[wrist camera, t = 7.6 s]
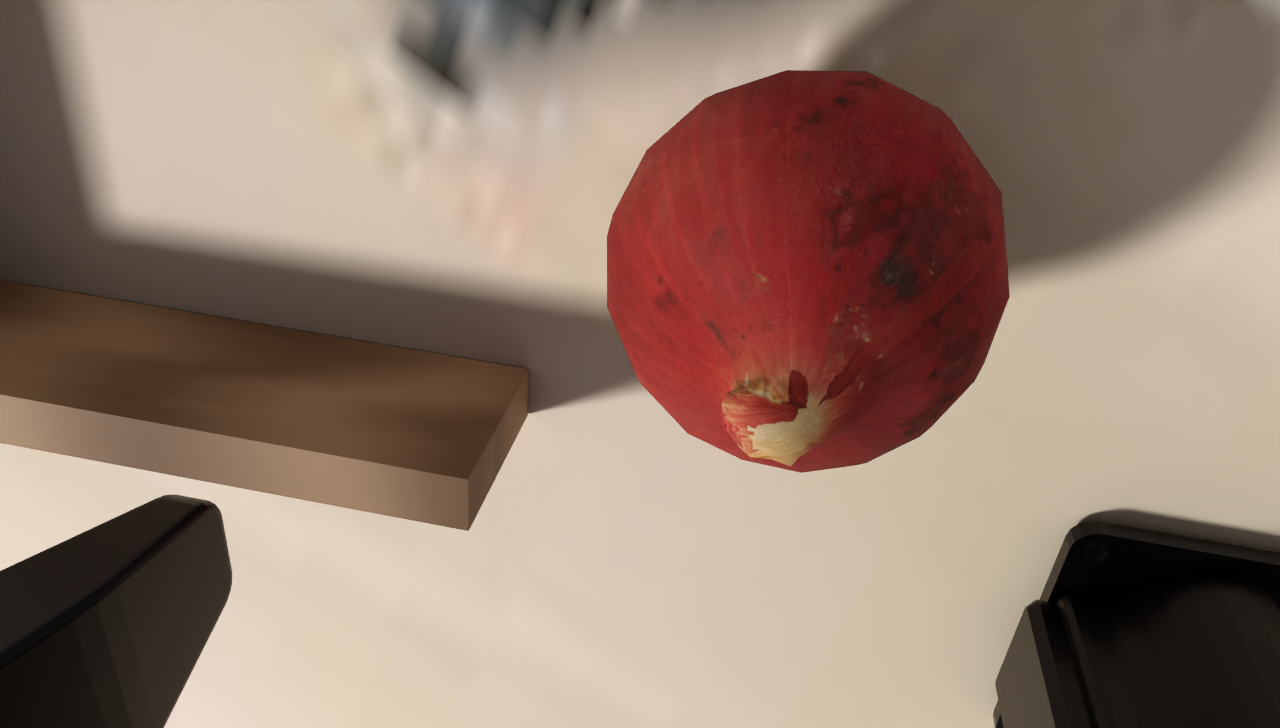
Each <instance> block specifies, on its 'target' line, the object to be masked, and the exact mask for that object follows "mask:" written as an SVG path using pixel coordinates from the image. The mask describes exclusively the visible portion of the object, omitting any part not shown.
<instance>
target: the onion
mask: <svg viewBox="0 0 1280 728" xmlns="http://www.w3.org/2000/svg"><path fill="white" fill-rule="evenodd" d="M1008 299H1009V282H1008V266H1007V255H1006V243H1005V231H1004V219H1003V208H1002V196H1001V191H1000V190H999V188H998V187H997V185H996V184H995V182H994V181H993V180H992V178H991V177H990V175H989V174H988V172H987V171H986V169H985V168H984V167H983V165H982V164H981V162H980V161H979V159H978V158H977V156H976V155H975V154H974V152H973V151H972V149H971V148H970V146H969V145H968V143H967V142H966V141H965V139H964V138H963V136H962V135H961V133H960V132H959V130H958V129H957V128H956V126H955V125H954V123H953V122H952V120H951V119H950V118H949V117H948V116H947V115H946V114H945V113H944V112H943V111H942V110H941V109H939V108H937V107H935V106H933V105H931V104H929V103H927V102H926V101H924V100H922V99H920V98H918V97H916V96H914V95H912V94H910V93H908V92H906V91H904V90H902V89H900V88H898V87H896V86H894V85H892V84H890V83H888V82H886V81H884V80H882V79H880V78H878V77H876V76H875V75H873V74H871V73H869V72H865V71H791V70H787V71H783V72H780V73H777V74H774V75H771V76H768V77H765V78H762V79H759V80H756V81H753V82H750V83H747V84H744V85H741V86H738V87H735V88H731V89H728V90H725V91H722V92H719V93H716V94H714V95H712V96H710V97H708V98H705V99H704V100H703V101H702V102H700V103H699V104H698V105H697V106H696V107H695V108H694V109H693V110H691V111H690V112H689V113H688V114H687V115H686V116H685V117H684V118H682V119H681V120H680V121H679V122H678V123H677V124H676V125H675V126H673V127H672V128H671V129H670V130H669V131H668V132H667V133H665V134H664V135H663V136H662V137H661V138H660V139H659V140H658V141H656V142H655V143H654V144H653V145H652V146H651V147H650V148H649V149H647V151H646V153H645V155H644V156H643V158H642V160H641V162H640V164H639V166H638V168H637V170H636V172H635V174H634V175H633V177H632V179H631V181H630V183H629V185H628V187H627V189H626V191H625V192H624V194H623V196H622V198H621V200H620V202H619V204H618V206H617V208H616V210H615V211H614V213H613V216H612V220H611V224H610V227H609V231H608V235H607V307H608V309H609V312H610V314H611V317H612V319H613V322H614V324H615V327H616V329H617V331H618V334H619V336H620V338H621V341H622V343H623V345H624V348H625V350H626V352H627V355H628V357H629V359H630V362H631V364H632V366H633V369H634V371H635V373H636V376H637V378H638V380H639V382H640V383H641V384H642V385H643V386H644V387H645V388H646V389H647V391H648V392H649V393H650V394H651V395H652V396H653V397H654V398H655V399H656V400H657V401H658V402H659V403H660V404H661V405H662V406H663V407H664V408H665V410H666V411H667V412H668V413H669V414H670V415H671V416H672V417H673V418H674V419H675V420H676V421H677V422H678V423H679V425H680V426H681V427H682V428H683V429H684V430H685V431H686V432H687V433H688V434H690V435H692V436H694V437H696V438H698V439H701V440H703V441H705V442H707V443H709V444H711V445H713V446H715V447H717V448H719V449H721V450H723V451H725V452H727V453H730V454H732V455H734V456H736V457H738V458H740V459H742V460H746V461H751V462H755V463H760V464H764V465H769V466H774V467H778V468H783V469H787V470H792V471H797V472H801V473H802V472H809V471H816V470H824V469H831V468H838V467H845V466H853V465H859V464H863V463H867V462H869V461H871V460H873V459H875V458H877V457H879V456H881V455H883V454H885V453H887V452H889V451H891V450H893V449H895V448H897V447H899V446H901V445H903V444H906V443H908V442H910V441H912V440H914V439H916V438H918V437H920V436H921V435H922V434H923V433H924V432H926V431H927V430H928V429H929V428H930V427H932V425H933V424H934V423H935V422H936V421H937V420H938V419H939V418H940V417H941V416H942V415H943V414H944V413H945V412H946V411H947V410H948V409H949V407H950V406H951V405H952V404H953V403H954V402H955V401H956V400H957V399H958V398H959V397H960V396H961V395H962V394H963V393H964V392H965V391H966V390H967V388H968V387H969V386H970V385H971V384H972V383H973V382H974V381H975V379H976V377H977V375H978V374H979V372H980V370H981V368H982V366H983V364H984V362H985V359H986V357H987V354H988V351H989V349H990V346H991V344H992V341H993V338H994V336H995V333H996V330H997V328H998V325H999V322H1000V320H1001V317H1002V314H1003V312H1004V309H1005V306H1006V304H1007V301H1008Z"/></svg>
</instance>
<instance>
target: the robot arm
mask: <svg viewBox="0 0 1280 728" xmlns="http://www.w3.org/2000/svg"><path fill="white" fill-rule="evenodd" d="M1092 543H1100V544H1101V546H1100V547H1098V548H1095V549H1088V550H1086V549H1084V547H1085V546H1087V545H1089V544H1092ZM231 585H232V569H231V563H230V558H229V553H228V547H227V542H226V536H225V531H224V525H223V520H222V515H221V512H220V510H219V509H218V507H217V506H216V505H215V504H214V503H211V502H210V501H206V500H201V499H196V498H190V497H185V496H179V495H165V496H162V497H159V498H157V499H154V500H152V501H150V502H148V503H146V504H144V505H142V506H139V507H137V508H135V509H133V510H131V511H129V512H126V513H124V514H122V515H120V516H118V517H116V518H114V519H111V520H109V521H107V522H105V523H103V524H101V525H98V526H96V527H94V528H92V529H90V530H88V531H86V532H83V533H81V534H79V535H77V536H75V537H73V538H71V539H68V540H66V541H64V542H62V543H60V544H58V545H55V546H53V547H51V548H49V549H47V550H45V551H43V552H40V553H38V554H36V555H34V556H32V557H30V558H27V559H25V560H23V561H21V562H19V563H17V564H15V565H12V566H10V567H8V568H6V569H4V570H2V571H0V728H164V726H165V724H166V722H167V720H168V718H169V716H170V714H171V712H172V710H173V708H174V706H175V704H176V702H177V700H178V698H179V696H180V694H181V692H182V690H183V688H184V686H185V684H186V682H187V680H188V678H189V676H190V674H191V672H192V670H193V668H194V666H195V664H196V662H197V660H198V658H199V656H200V654H201V652H202V650H203V648H204V646H205V644H206V642H207V640H208V638H209V636H210V634H211V632H212V630H213V628H214V626H215V624H216V622H217V620H218V618H219V616H220V614H221V612H222V610H223V608H224V606H225V604H226V602H227V600H228V597H229V594H230V590H231ZM996 690H997V695H998V702H997V704H996V707H995V709H994V714H993V718H994V724H995V728H1280V553H1275V552H1269V551H1263V550H1257V549H1252V548H1246V547H1240V546H1234V545H1229V544H1223V543H1217V542H1212V541H1206V540H1200V539H1194V538H1189V537H1183V536H1177V535H1171V534H1166V533H1160V532H1154V531H1148V530H1143V529H1137V528H1131V527H1125V526H1120V525H1114V524H1108V523H1102V522H1085V523H1081V524H1078V525H1076V526H1075V527H1073V528H1072V529H1070V531H1069V532H1068V534H1067V535H1066V537H1065V539H1064V542H1063V544H1062V546H1061V549H1060V551H1059V554H1058V556H1057V559H1056V561H1055V563H1054V566H1053V568H1052V571H1051V573H1050V576H1049V578H1048V580H1047V583H1046V585H1045V588H1044V590H1043V593H1042V595H1041V597H1040V600H1035V601H1033V602H1032V603H1031V604H1029V605H1028V606H1027V607H1026V608H1025V609H1024V612H1023V614H1022V617H1021V619H1020V622H1019V624H1018V627H1017V629H1016V632H1015V634H1014V637H1013V639H1012V642H1011V644H1010V647H1009V649H1008V652H1007V654H1006V657H1005V659H1004V662H1003V664H1002V666H1001V669H1000V671H999V674H998V676H997V679H996Z"/></svg>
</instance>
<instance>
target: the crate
mask: <svg viewBox="0 0 1280 728" xmlns="http://www.w3.org/2000/svg"><path fill="white" fill-rule="evenodd" d="M528 383H529V369H525V368H519V367H513V366H507V365H502V364H496V363H490V362H484V361H478V360H472V359H466V358H460V357H454V356H448V355H442V354H436V353H430V352H424V351H418V350H412V349H406V348H400V347H394V346H388V345H382V344H377V343H371V342H365V341H359V340H353V339H347V338H341V337H335V336H329V335H323V334H317V333H311V332H305V331H299V330H293V329H287V328H281V327H275V326H269V325H263V324H257V323H252V322H246V321H240V320H234V319H228V318H222V317H216V316H210V315H204V314H198V313H192V312H186V311H180V310H174V309H168V308H162V307H156V306H150V305H144V304H138V303H133V302H127V301H121V300H115V299H109V298H103V297H97V296H91V295H85V294H79V293H73V292H67V291H61V290H55V289H49V288H43V287H37V286H31V285H25V284H19V283H13V282H8V281H2V280H0V443H4V444H10V445H15V446H20V447H26V448H31V449H36V450H42V451H47V452H52V453H58V454H63V455H68V456H73V457H79V458H84V459H89V460H95V461H100V462H105V463H111V464H116V465H121V466H127V467H132V468H137V469H143V470H148V471H153V472H159V473H164V474H169V475H175V476H180V477H185V478H190V479H196V480H201V481H206V482H212V483H217V484H222V485H228V486H233V487H238V488H244V489H249V490H254V491H260V492H265V493H270V494H276V495H281V496H286V497H292V498H297V499H302V500H307V501H313V502H318V503H323V504H329V505H334V506H339V507H345V508H350V509H355V510H361V511H366V512H371V513H377V514H382V515H387V516H393V517H398V518H403V519H409V520H414V521H419V522H425V523H430V524H435V525H440V526H446V527H451V528H456V529H462V530H467V531H469V529H470V527H471V525H472V523H473V521H474V519H475V517H476V515H477V513H478V511H479V509H480V507H481V505H482V503H483V501H484V500H485V498H486V496H487V494H488V492H489V490H490V488H491V486H492V484H493V482H494V480H495V478H496V476H497V474H498V472H499V470H500V468H501V466H502V464H503V462H504V460H505V458H506V456H507V454H508V452H509V450H510V449H511V447H512V445H513V443H514V441H515V439H516V437H517V435H518V433H519V431H520V429H521V427H522V425H523V423H524V421H525V419H526V417H527V415H528Z"/></svg>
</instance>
